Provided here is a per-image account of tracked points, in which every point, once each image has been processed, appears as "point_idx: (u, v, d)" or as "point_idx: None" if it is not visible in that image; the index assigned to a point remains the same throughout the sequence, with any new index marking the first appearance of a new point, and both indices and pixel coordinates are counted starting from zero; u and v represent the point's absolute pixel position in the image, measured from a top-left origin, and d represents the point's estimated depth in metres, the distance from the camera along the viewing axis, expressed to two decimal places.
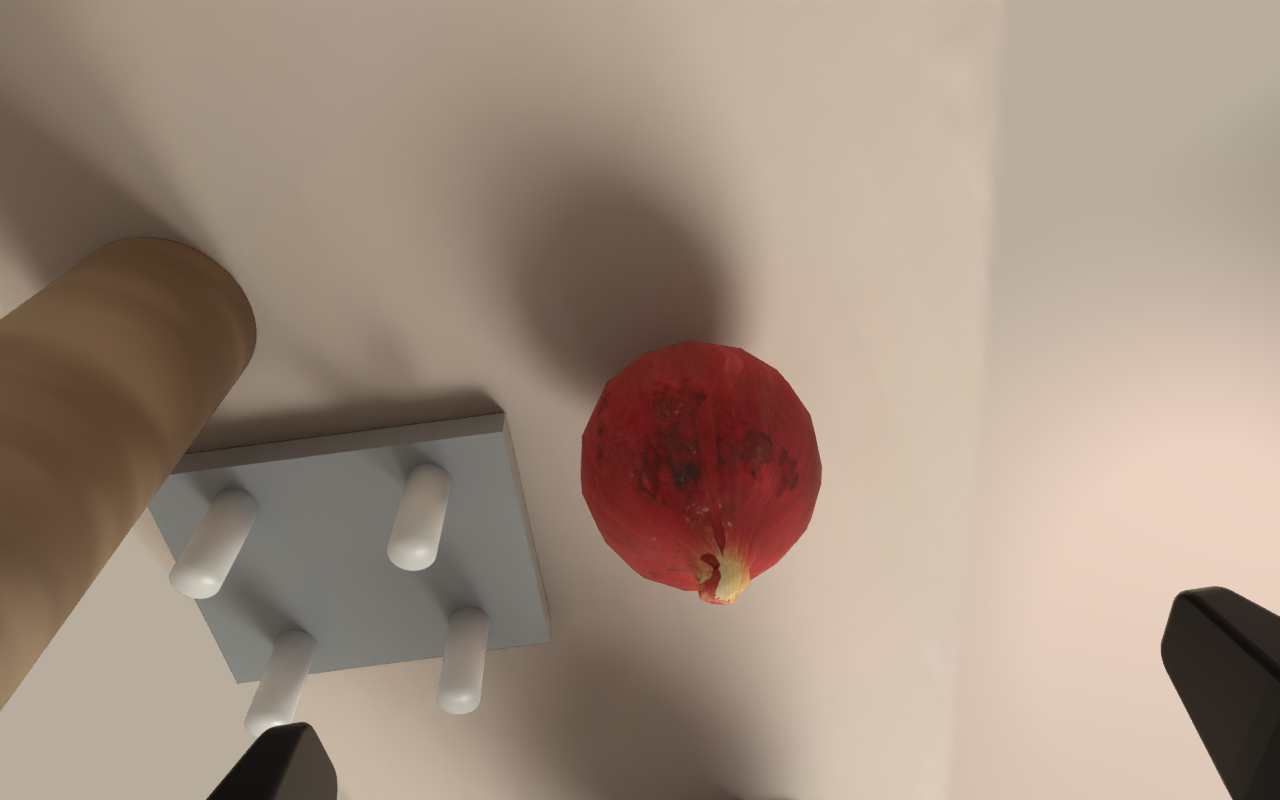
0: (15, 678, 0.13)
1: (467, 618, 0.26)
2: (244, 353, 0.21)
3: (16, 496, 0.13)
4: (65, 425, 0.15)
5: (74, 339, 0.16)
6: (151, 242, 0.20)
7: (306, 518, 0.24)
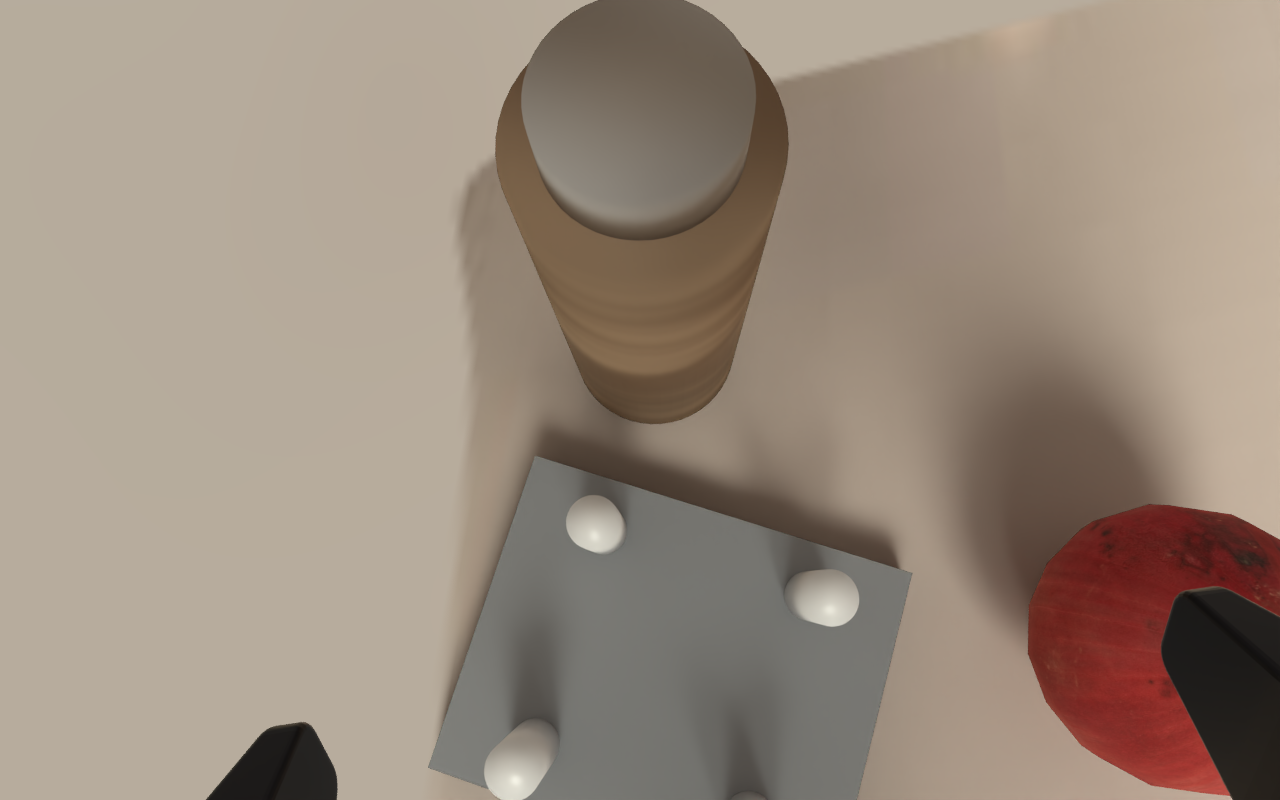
0: (741, 244, 0.12)
1: None
2: (718, 386, 0.22)
3: None
4: None
5: None
6: None
7: (660, 578, 0.21)
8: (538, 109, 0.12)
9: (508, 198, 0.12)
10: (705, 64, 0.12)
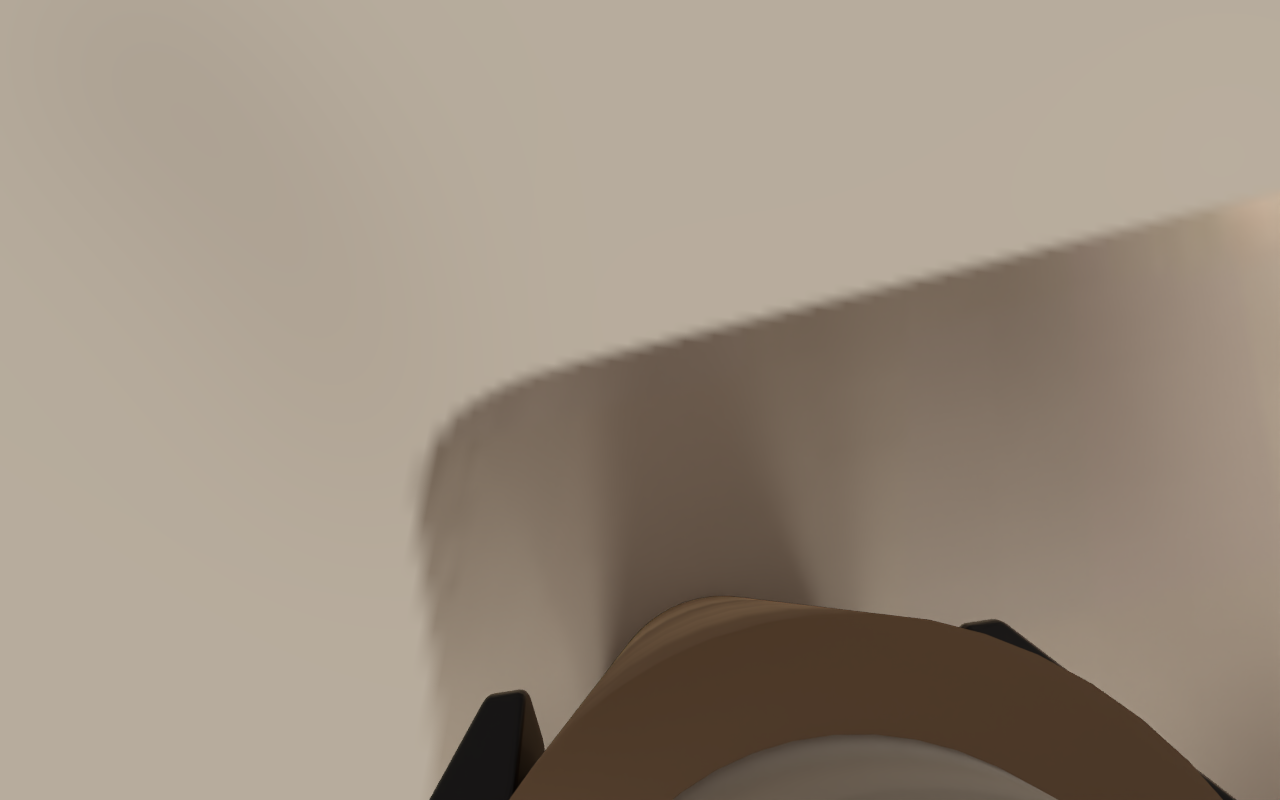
0: None
1: None
2: None
3: None
4: None
5: None
6: None
7: None
8: None
9: None
10: None
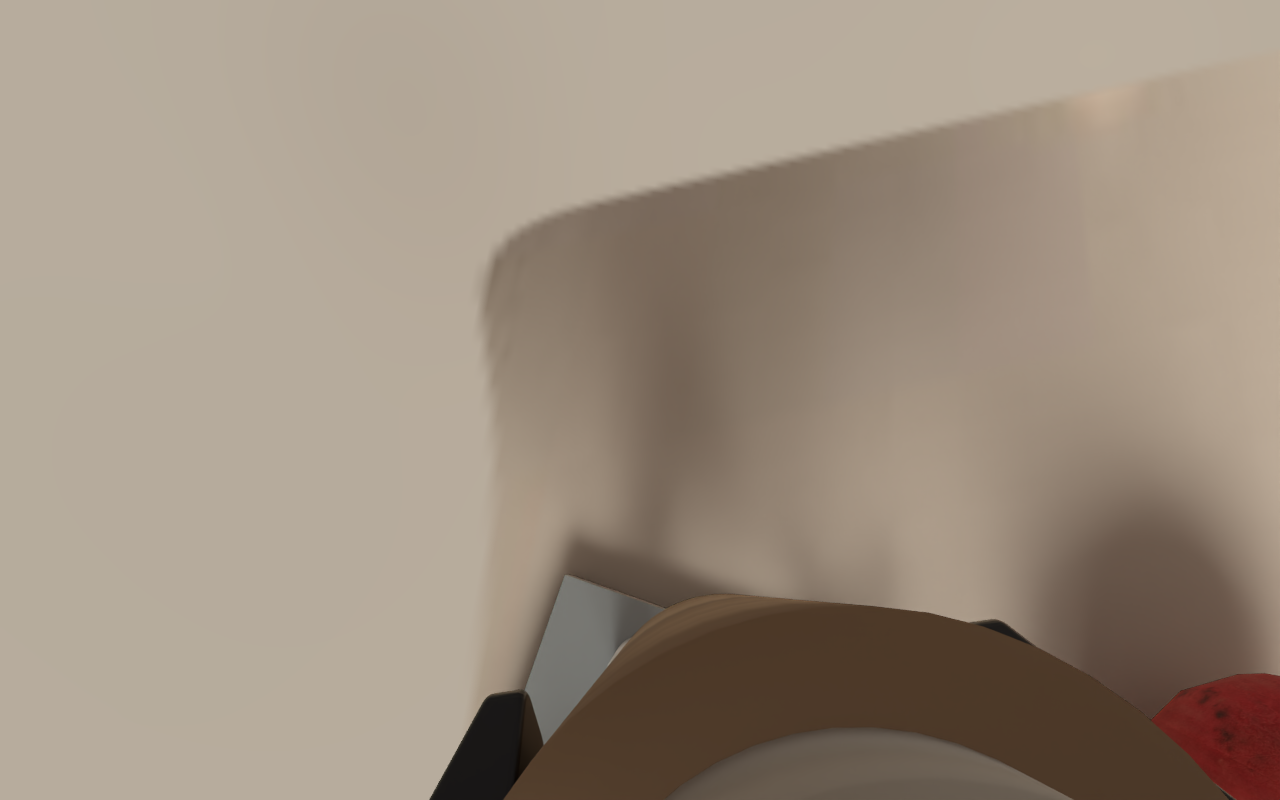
0: None
1: None
2: None
3: None
4: None
5: None
6: None
7: None
8: None
9: None
10: None
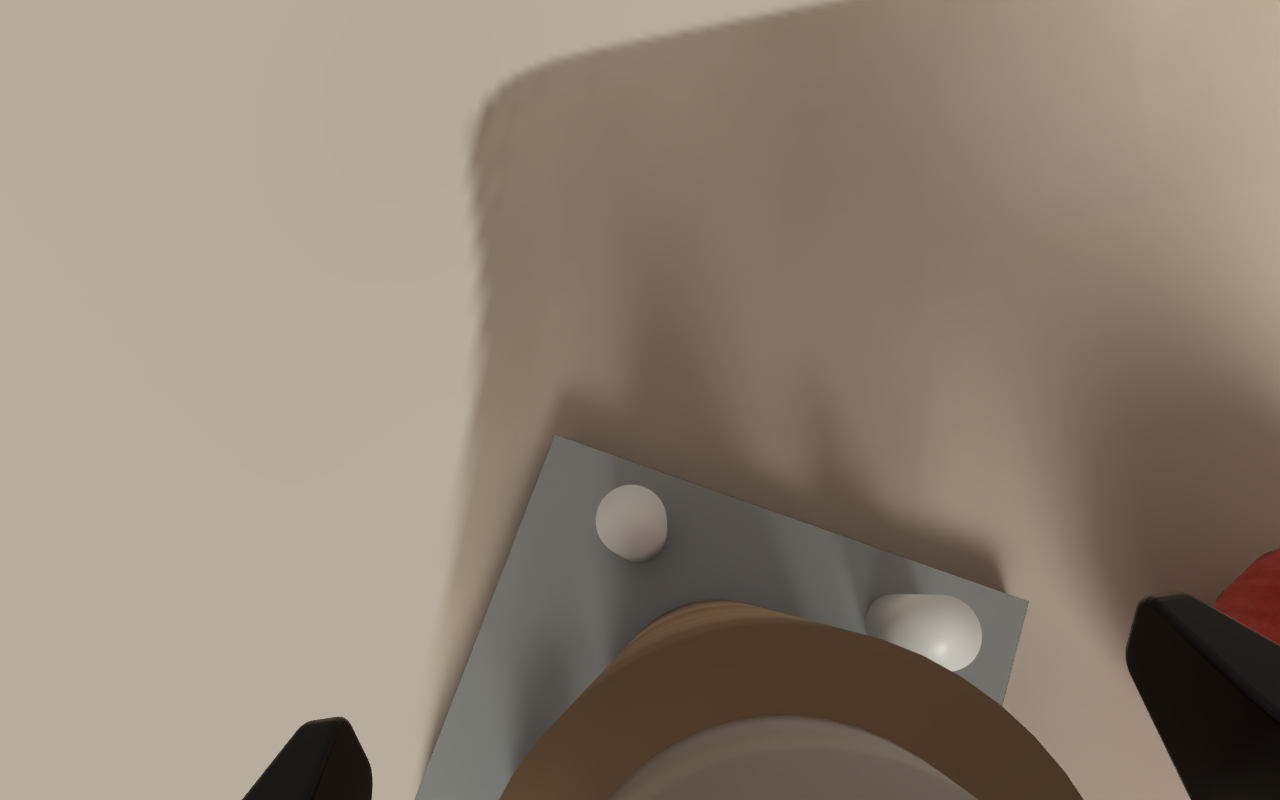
0: None
1: None
2: None
3: None
4: None
5: None
6: None
7: (707, 595, 0.17)
8: None
9: None
10: None
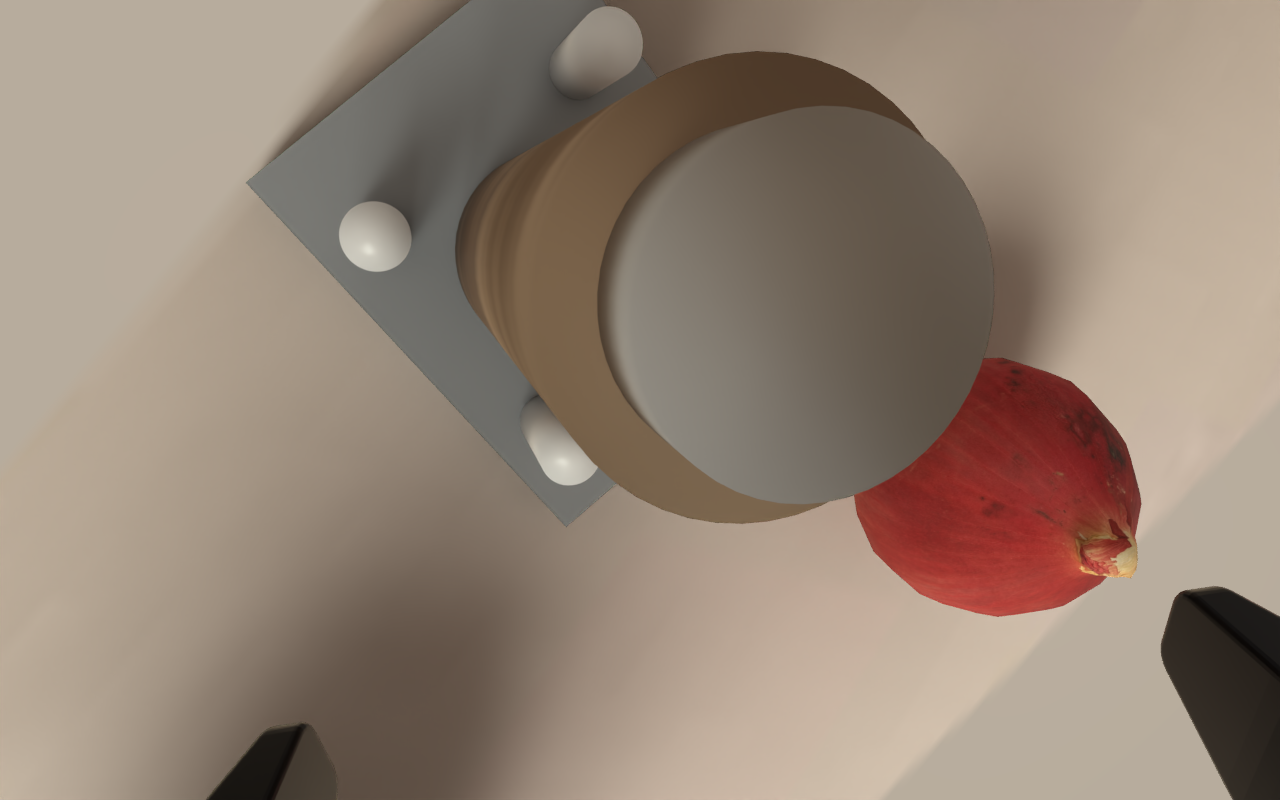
0: (789, 511, 0.09)
1: None
2: None
3: None
4: None
5: None
6: None
7: None
8: (675, 244, 0.06)
9: (534, 278, 0.07)
10: (933, 322, 0.07)
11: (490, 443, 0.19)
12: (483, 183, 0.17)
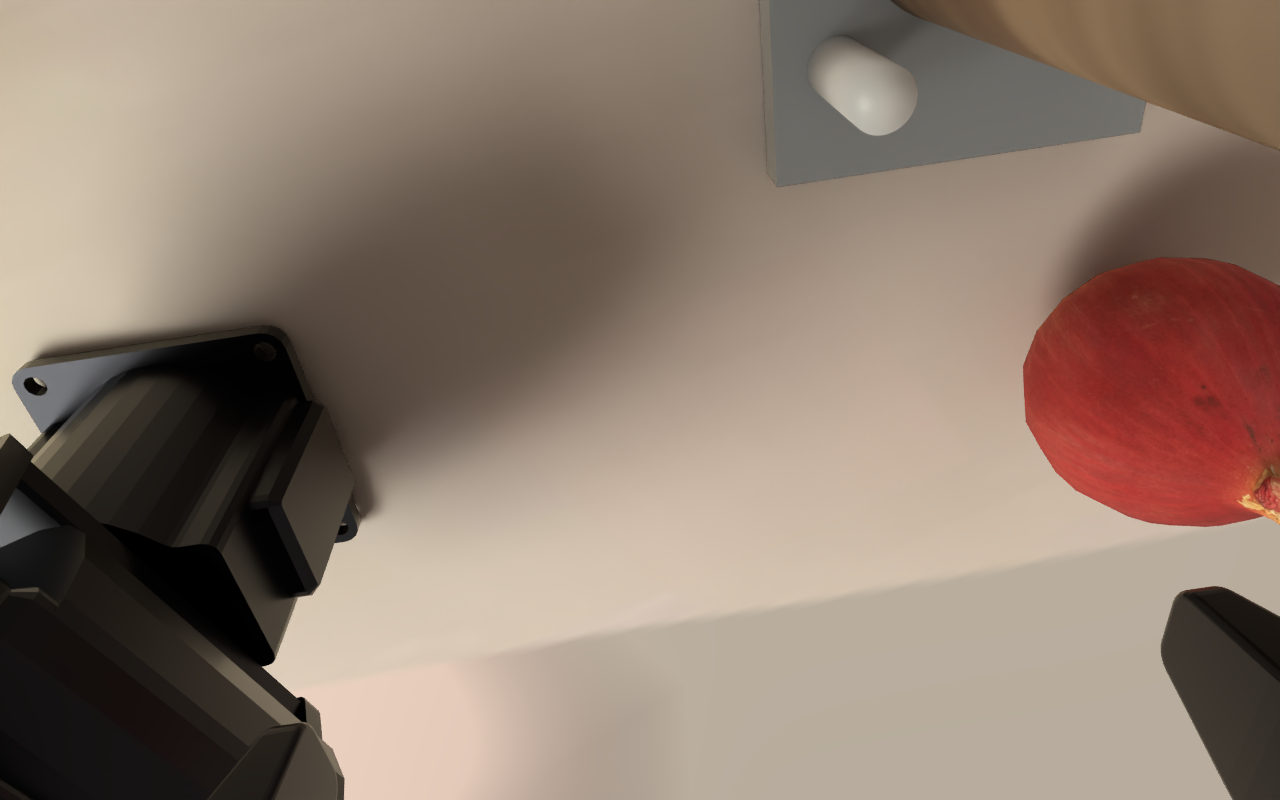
0: None
1: None
2: None
3: None
4: None
5: None
6: None
7: None
8: None
9: None
10: None
11: (772, 54, 0.17)
12: None
